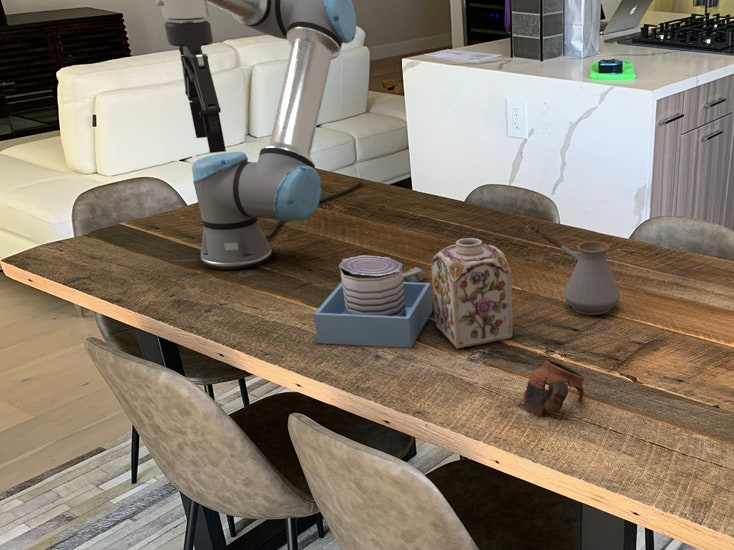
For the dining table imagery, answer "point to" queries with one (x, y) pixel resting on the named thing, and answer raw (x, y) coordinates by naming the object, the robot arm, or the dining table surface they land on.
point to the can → (373, 286)
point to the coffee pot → (588, 277)
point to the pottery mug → (551, 387)
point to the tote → (374, 320)
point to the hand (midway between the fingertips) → (210, 144)
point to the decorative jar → (472, 293)
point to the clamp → (413, 275)
